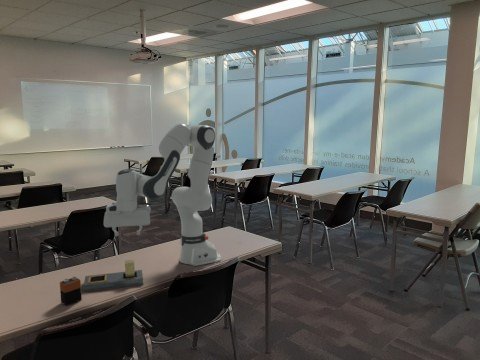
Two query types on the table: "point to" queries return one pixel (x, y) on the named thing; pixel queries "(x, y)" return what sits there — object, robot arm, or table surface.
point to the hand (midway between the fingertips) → (127, 235)
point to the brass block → (129, 269)
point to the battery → (70, 290)
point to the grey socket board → (111, 281)
